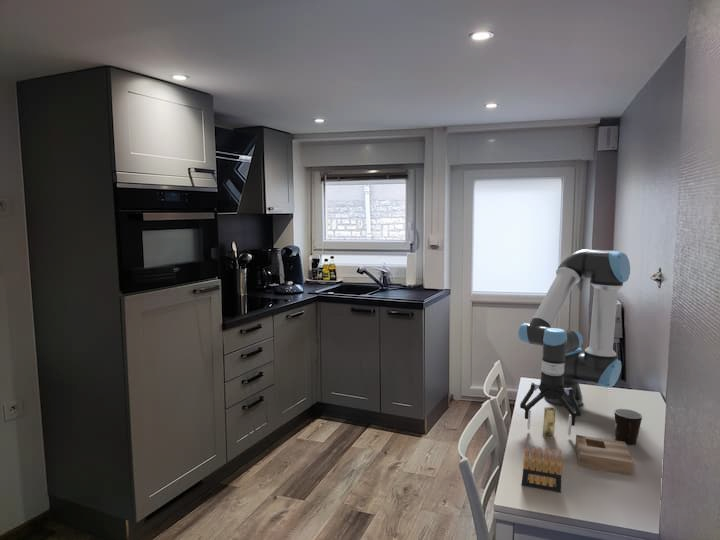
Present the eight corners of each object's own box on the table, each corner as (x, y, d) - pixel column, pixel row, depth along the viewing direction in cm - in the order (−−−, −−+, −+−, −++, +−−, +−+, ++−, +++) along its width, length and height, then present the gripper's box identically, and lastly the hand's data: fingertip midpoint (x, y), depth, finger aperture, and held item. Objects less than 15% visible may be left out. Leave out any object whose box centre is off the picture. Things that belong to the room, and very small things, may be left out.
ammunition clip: (521, 485, 148) (523, 445, 146) (521, 482, 149) (524, 443, 148) (561, 492, 144) (564, 452, 143) (560, 489, 146) (563, 449, 145)
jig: (575, 446, 174) (576, 434, 173) (624, 453, 169) (625, 442, 169) (579, 466, 160) (580, 454, 159) (632, 475, 155) (633, 462, 155)
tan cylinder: (542, 432, 184) (544, 405, 183) (553, 434, 183) (555, 407, 182) (542, 436, 181) (544, 409, 179) (554, 438, 179) (556, 411, 178)
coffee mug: (617, 433, 185) (619, 407, 184) (643, 441, 179) (645, 414, 178) (605, 443, 177) (607, 415, 175) (632, 451, 170) (634, 423, 169)
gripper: (515, 371, 180) (511, 429, 182) (592, 380, 172) (587, 440, 174) (515, 365, 187) (512, 421, 189) (590, 374, 179) (585, 432, 181)
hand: (548, 430), depth 181 cm, fingers open, 13 cm apart
